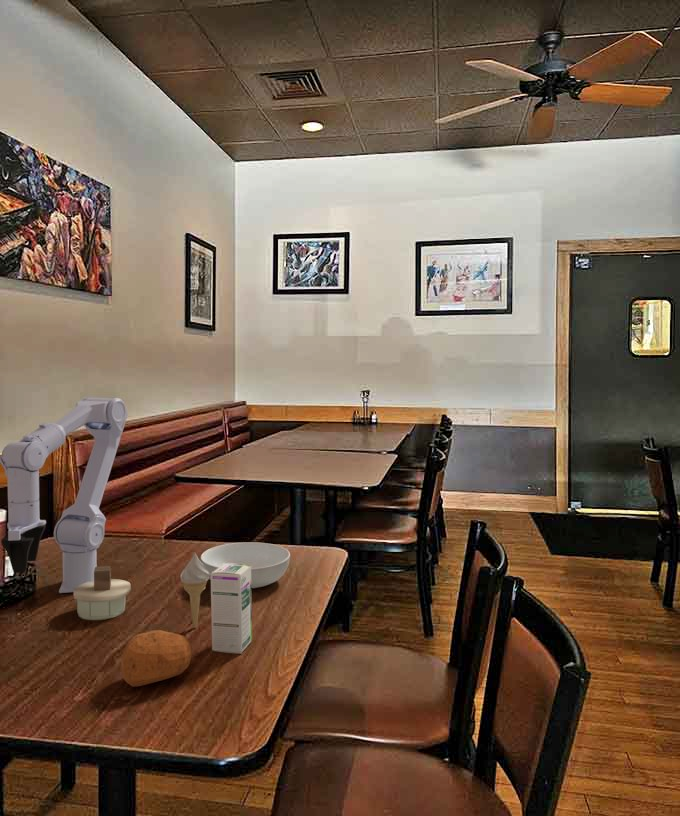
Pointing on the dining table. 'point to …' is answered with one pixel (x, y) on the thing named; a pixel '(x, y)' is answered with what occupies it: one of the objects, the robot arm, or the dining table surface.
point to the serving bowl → (250, 560)
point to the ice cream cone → (194, 583)
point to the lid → (102, 587)
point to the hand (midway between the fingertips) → (25, 566)
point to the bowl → (100, 609)
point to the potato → (155, 657)
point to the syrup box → (231, 608)
